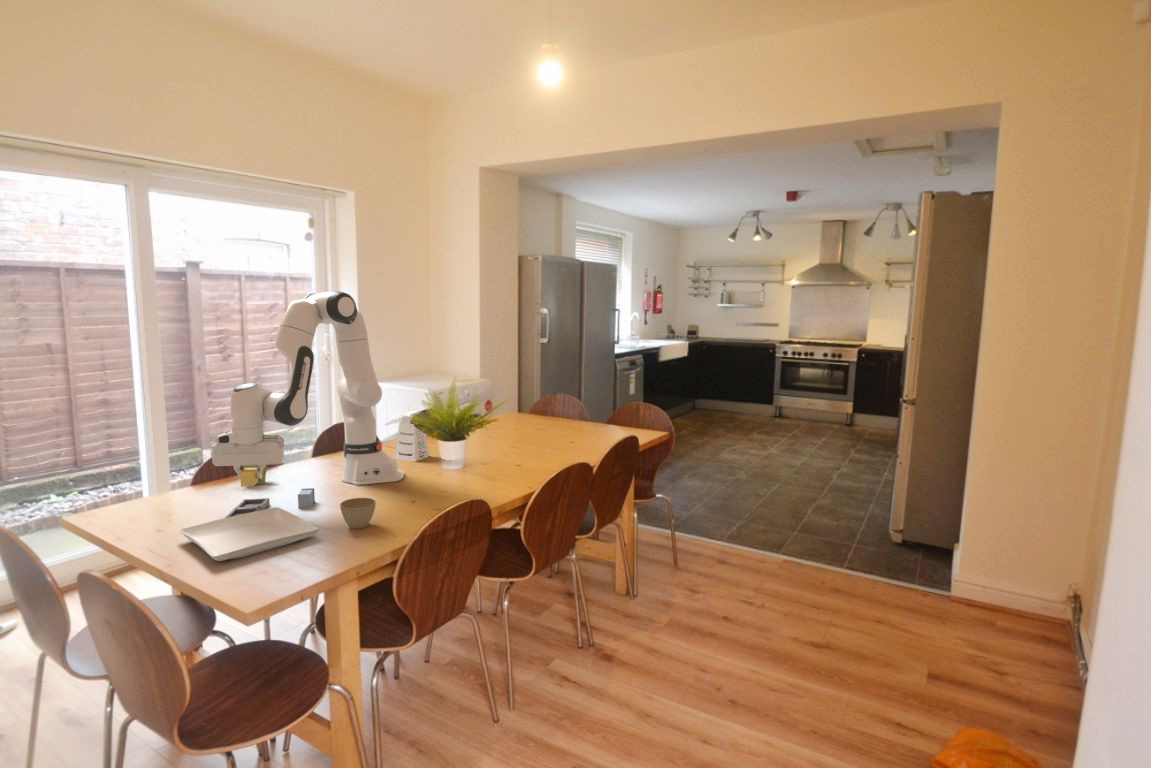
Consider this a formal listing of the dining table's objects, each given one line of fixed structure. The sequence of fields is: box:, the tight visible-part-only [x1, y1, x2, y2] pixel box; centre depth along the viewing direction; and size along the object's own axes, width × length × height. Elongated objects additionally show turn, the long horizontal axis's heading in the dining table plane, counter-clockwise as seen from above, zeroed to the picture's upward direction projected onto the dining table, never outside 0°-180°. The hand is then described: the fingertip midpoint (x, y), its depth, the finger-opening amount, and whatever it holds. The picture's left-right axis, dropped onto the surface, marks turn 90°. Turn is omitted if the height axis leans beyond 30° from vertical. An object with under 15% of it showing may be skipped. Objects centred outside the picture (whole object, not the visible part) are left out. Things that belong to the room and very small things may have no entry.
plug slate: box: [297, 487, 316, 509], centre depth 197 cm, size 4×6×5 cm, turn 12°
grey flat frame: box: [224, 497, 270, 518], centre depth 187 cm, size 8×18×2 cm, turn 12°
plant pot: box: [241, 465, 268, 486], centre depth 220 cm, size 9×9×9 cm
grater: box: [394, 410, 431, 463], centre depth 258 cm, size 10×10×20 cm
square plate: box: [178, 506, 320, 562], centre depth 167 cm, size 27×27×4 cm
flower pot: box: [339, 497, 377, 530], centre depth 178 cm, size 10×10×7 cm
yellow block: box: [240, 467, 260, 487], centre depth 190 cm, size 4×6×5 cm, turn 12°
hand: (250, 478), depth 190 cm, fingers closed on yellow block, 4 cm apart
